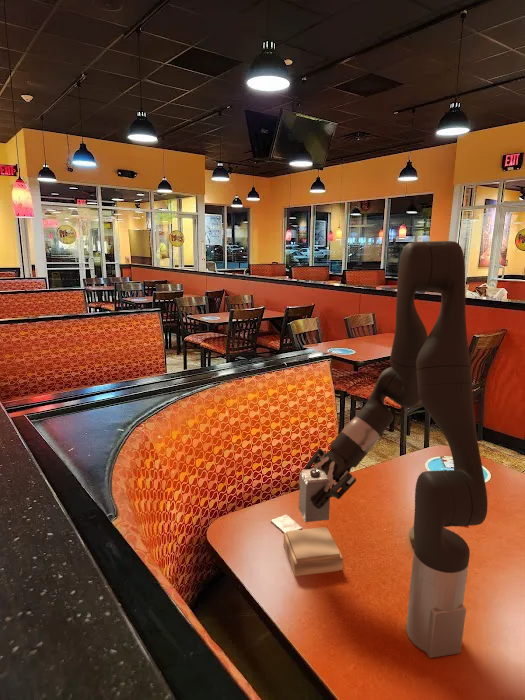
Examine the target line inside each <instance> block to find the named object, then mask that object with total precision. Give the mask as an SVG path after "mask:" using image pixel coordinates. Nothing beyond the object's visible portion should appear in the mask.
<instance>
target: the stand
mask: <svg viewBox="0 0 525 700" xmlns="http://www.w3.org/2000/svg"><path fill="white" fill-rule="evenodd" d="M283 547H284V549H285V553H286V555H287V559H288V561H289V564H290V566H291V569H292V573H293V575H294V577H300V576H308V575H315V574H323V573H331V572H339V571H340V570H341V571H343V565H344V564H343V563H344V561H343V560H344V558H343V555H342V553H341V551H340V550H339V548H338V546H337V544H336V542H335V539H333V536H332V535H331V533H330V531H329V529H328V528H327V526H322V527H313V528H302V530H293V531H286V533H283ZM341 571H340V572H341Z"/></svg>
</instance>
